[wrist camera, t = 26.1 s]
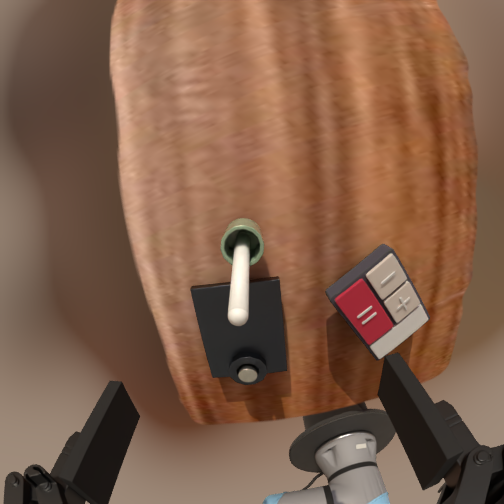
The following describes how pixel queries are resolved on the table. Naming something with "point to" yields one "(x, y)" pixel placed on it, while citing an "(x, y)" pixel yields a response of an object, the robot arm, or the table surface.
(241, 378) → the button
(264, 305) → the tablet
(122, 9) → the table surface
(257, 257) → the pen cup
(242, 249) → the stylus
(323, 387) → the table surface
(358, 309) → the calculator
